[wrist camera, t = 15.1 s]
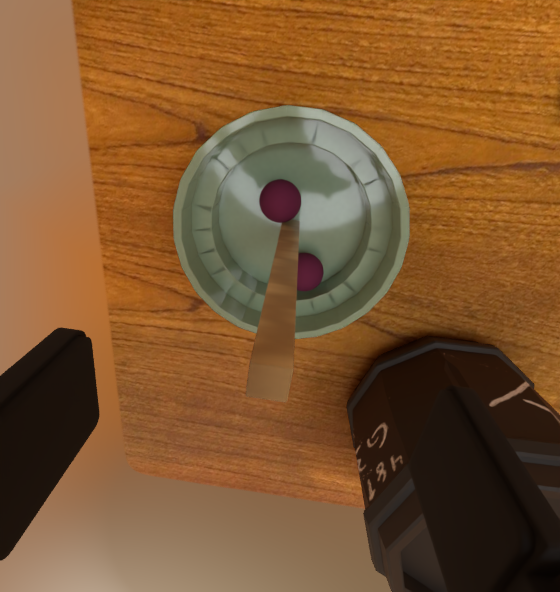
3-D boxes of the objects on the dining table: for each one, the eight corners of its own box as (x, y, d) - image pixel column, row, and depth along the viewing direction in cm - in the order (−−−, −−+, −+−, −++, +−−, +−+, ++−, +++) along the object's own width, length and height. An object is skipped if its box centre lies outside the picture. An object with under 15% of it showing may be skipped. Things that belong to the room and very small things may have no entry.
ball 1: (244, 201, 28) (264, 227, 26) (265, 165, 26) (288, 190, 24) (273, 209, 30) (293, 234, 28) (295, 176, 28) (316, 200, 27)
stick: (280, 234, 30) (245, 396, 12) (283, 217, 29) (249, 362, 11) (297, 237, 30) (286, 403, 12) (299, 220, 29) (293, 369, 11)
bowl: (157, 202, 30) (125, 219, 25) (311, 58, 25) (313, 38, 20) (277, 334, 35) (272, 372, 30) (427, 235, 30) (454, 258, 25)
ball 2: (286, 253, 31) (272, 283, 30) (304, 239, 28) (289, 271, 27) (316, 272, 32) (304, 302, 31) (336, 260, 29) (323, 292, 28)
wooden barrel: (520, 452, 40) (642, 633, 25) (357, 467, 42) (385, 640, 28) (533, 310, 32) (714, 453, 18) (335, 339, 35) (357, 485, 21)
